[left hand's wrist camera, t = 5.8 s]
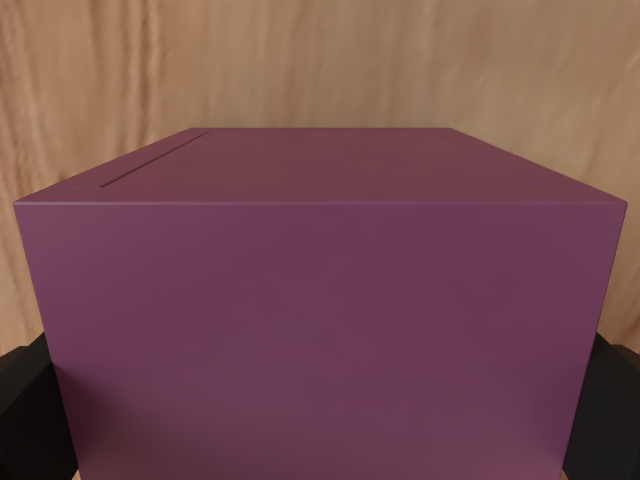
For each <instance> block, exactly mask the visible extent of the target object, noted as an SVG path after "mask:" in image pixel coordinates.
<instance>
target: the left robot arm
mask: <svg viewBox="0 0 640 480" xmlns="http://www.w3.org/2000/svg"><path fill="white" fill-rule="evenodd" d="M77 470H78V466H77V461H76V457H75V453H74V449H73V445H72V441H71V437H70V433H69V429H68V425H67V421H66V417H65V413H64V409H63V405H62V401H61V397H60V393H59V388H58V384H57V380H56V376H55V372H54V368H53V364H52V360H51V356H50V352H49V348H48V344H47V340H46V336H45V332H43V333H42V334H41V335H40V336H39V337H38V338H37V339H35V340H34V341H33V342H32V343H31V344H30V345H29V346H19V347H17V348H16V349H14V350H12V351H10V352H8V353H7V354H5V355H3V356H1V357H0V480H72V478H73V477H74V475H75V473H76V472H77ZM563 471H564V473H565V474H566V476H567V477H568V479H569V480H640V355H639V354H637V353H635V352H633V351H632V350H630V349H628V348H626V347H624V346H623V345H610V344H609V343H608V342H607V341H606V340H605V339H604V338H603V337H602V336H601V335H600V334H599V333H598V332H596V335H595V339H594V343H593V347H592V351H591V355H590V359H589V363H588V367H587V371H586V376H585V380H584V384H583V388H582V392H581V396H580V400H579V404H578V408H577V412H576V416H575V420H574V424H573V428H572V432H571V436H570V440H569V444H568V449H567V453H566V457H565V461H564V465H563Z"/></svg>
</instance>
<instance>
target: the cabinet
mask: <svg viewBox="0 0 640 480" xmlns="http://www.w3.org/2000/svg"><path fill="white" fill-rule="evenodd" d="M13 206H14V210H15V214H16V218H17V222H18V226H19V230H20V234H21V238H22V242H23V246H24V251H25V255H26V259H27V263H28V267H29V271H30V275H31V279H32V283H33V287H34V291H35V295H36V299H37V303H38V307H39V311H40V315H41V319H42V324H43V328H44V332H45V336H46V340H47V344H48V348H49V352H50V356H51V360H52V364H53V368H54V372H55V376H56V380H57V384H58V388H59V393H60V397H61V401H62V405H63V409H64V413H65V417H66V421H67V425H68V429H69V433H70V437H71V441H72V445H73V449H74V453H75V457H76V461H77V466H78V470H79V474H80V478H81V480H560V477H561V473H562V469H563V465H564V461H565V457H566V453H567V449H568V444H569V440H570V436H571V432H572V428H573V424H574V420H575V416H576V412H577V408H578V404H579V400H580V396H581V392H582V388H583V384H584V380H585V376H586V371H587V367H588V363H589V359H590V355H591V351H592V347H593V343H594V339H595V335H596V331H597V327H598V323H599V319H600V315H601V311H602V307H603V303H604V298H605V294H606V290H607V286H608V282H609V278H610V274H611V270H612V266H613V262H614V258H615V254H616V250H617V246H618V242H619V238H620V234H621V230H622V226H623V221H624V217H625V213H626V209H627V202H626V201H624V200H622V199H620V198H617V197H615V196H612V195H610V194H608V193H605V192H603V191H600V190H598V189H596V188H593V187H591V186H589V185H586V184H584V183H581V182H579V181H577V180H574V179H572V178H569V177H567V176H565V175H562V174H560V173H557V172H555V171H553V170H550V169H548V168H545V167H543V166H541V165H538V164H536V163H534V162H531V161H529V160H526V159H524V158H522V157H519V156H517V155H514V154H512V153H510V152H507V151H505V150H502V149H500V148H498V147H495V146H493V145H490V144H488V143H486V142H483V141H481V140H478V139H476V138H474V137H471V136H469V135H466V134H464V133H462V132H459V131H456V130H454V129H452V128H189V129H187V130H185V131H181V132H179V133H177V134H174V135H172V136H169V137H167V138H165V139H162V140H160V141H157V142H155V143H153V144H150V145H148V146H145V147H143V148H141V149H138V150H136V151H133V152H131V153H128V154H126V155H124V156H121V157H119V158H116V159H114V160H112V161H109V162H107V163H104V164H102V165H100V166H97V167H95V168H92V169H90V170H87V171H85V172H83V173H80V174H78V175H75V176H73V177H71V178H68V179H66V180H63V181H61V182H59V183H56V184H54V185H51V186H49V187H47V188H45V189H43V190H40V191H38V192H35V193H33V194H31V195H28V196H26V197H23V198H21V199H19V200H16V201H14V204H13Z"/></svg>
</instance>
